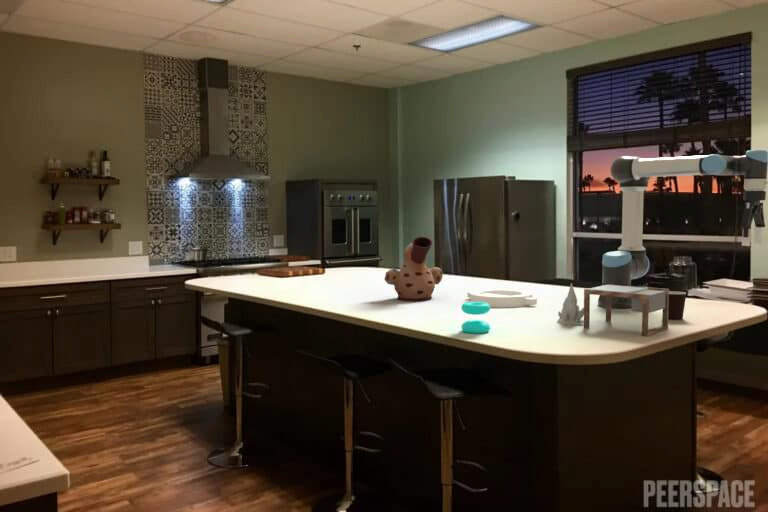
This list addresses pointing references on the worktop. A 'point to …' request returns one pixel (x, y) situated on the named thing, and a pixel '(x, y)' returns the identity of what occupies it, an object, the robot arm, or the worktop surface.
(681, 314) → the coffee mug
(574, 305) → the crystal
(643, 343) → the worktop surface
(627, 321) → the worktop surface
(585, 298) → the stand
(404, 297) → the vessel
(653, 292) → the trapdoor
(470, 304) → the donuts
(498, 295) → the white ring
